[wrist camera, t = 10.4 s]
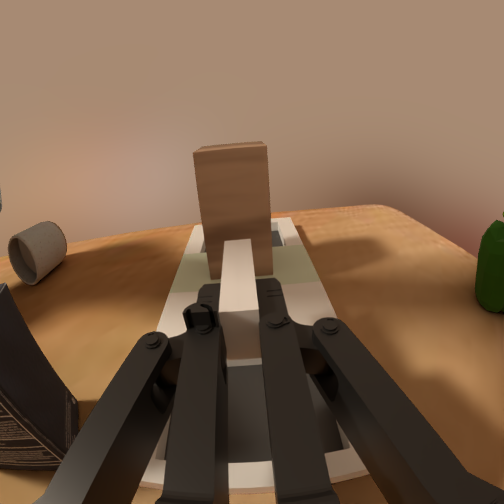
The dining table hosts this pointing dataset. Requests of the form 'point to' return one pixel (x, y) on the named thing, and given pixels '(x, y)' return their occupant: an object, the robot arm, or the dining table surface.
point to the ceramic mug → (37, 251)
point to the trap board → (257, 368)
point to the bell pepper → (491, 269)
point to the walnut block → (235, 202)
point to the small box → (30, 399)
